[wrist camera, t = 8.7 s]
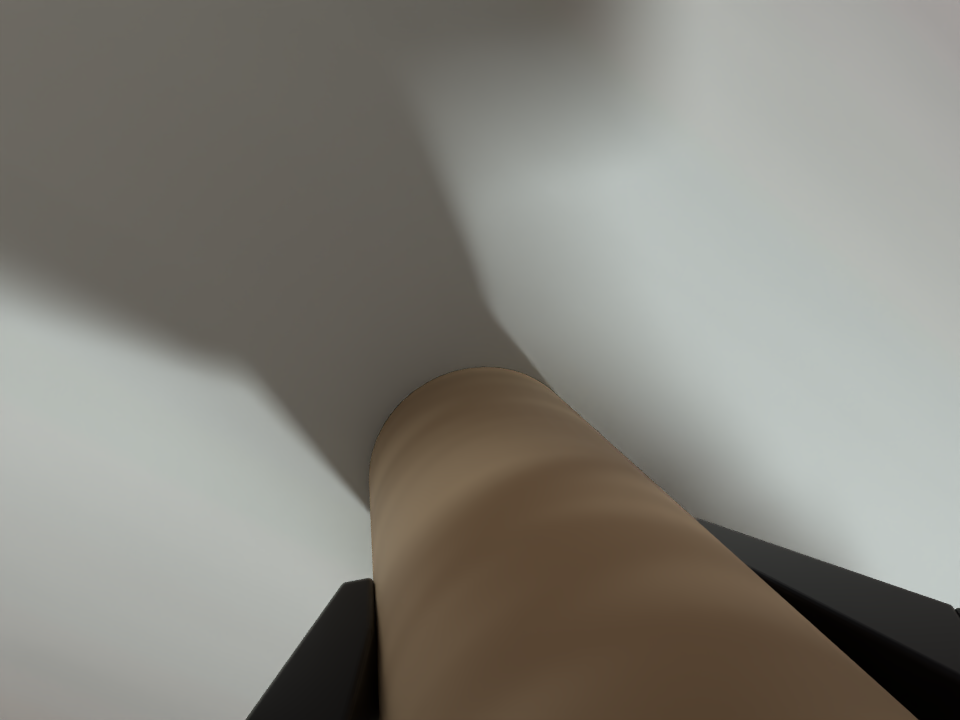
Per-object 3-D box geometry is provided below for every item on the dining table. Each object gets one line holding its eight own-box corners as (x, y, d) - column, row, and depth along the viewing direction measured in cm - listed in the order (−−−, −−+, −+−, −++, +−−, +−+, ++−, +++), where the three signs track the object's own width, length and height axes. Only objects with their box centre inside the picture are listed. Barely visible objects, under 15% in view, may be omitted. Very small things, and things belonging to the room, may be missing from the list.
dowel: (578, 351, 12) (1164, 713, 3) (589, 547, 13) (1048, 1207, 4) (352, 384, 11) (338, 972, 2) (385, 590, 12) (451, 1482, 4)
